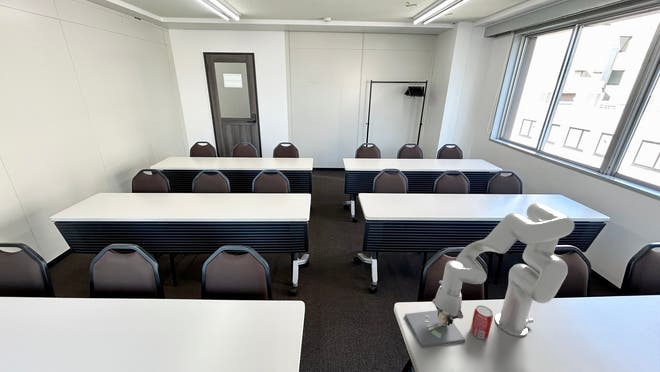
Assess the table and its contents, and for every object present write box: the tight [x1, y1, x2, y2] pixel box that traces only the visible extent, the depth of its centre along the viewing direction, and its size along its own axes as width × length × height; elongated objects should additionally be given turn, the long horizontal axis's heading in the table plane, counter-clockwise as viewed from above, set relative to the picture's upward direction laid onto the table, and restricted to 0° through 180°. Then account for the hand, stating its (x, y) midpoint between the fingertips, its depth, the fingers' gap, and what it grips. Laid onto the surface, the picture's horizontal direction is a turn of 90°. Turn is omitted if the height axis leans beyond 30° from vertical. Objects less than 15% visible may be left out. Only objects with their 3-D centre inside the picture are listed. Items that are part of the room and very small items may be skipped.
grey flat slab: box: [404, 309, 466, 349], centre depth 120 cm, size 20×17×2 cm
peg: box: [428, 311, 450, 331], centre depth 118 cm, size 12×3×7 cm, turn 113°
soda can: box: [470, 304, 494, 340], centre depth 116 cm, size 7×7×13 cm
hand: (444, 320), depth 120 cm, fingers closed on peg, 3 cm apart
